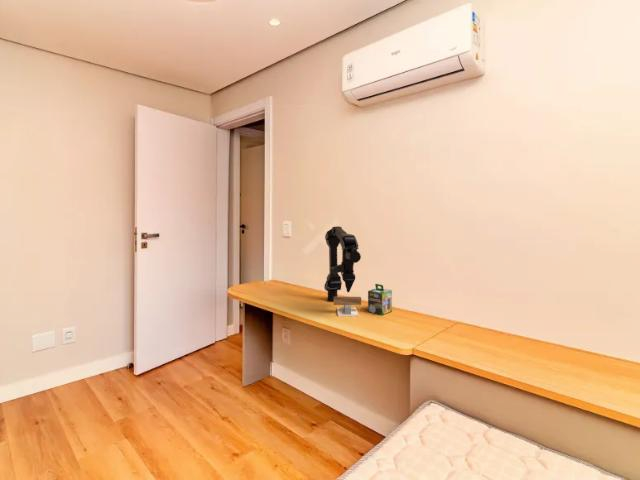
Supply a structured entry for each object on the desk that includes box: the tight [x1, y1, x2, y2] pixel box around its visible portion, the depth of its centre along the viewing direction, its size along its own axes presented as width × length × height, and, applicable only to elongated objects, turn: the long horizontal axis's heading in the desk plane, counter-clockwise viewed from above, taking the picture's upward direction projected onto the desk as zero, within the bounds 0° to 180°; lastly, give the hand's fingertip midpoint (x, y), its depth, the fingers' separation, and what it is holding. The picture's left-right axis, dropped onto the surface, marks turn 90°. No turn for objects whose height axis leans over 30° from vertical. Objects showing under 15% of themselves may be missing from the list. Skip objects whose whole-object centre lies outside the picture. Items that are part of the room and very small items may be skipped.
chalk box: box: [367, 283, 393, 316], centre depth 183 cm, size 9×9×15 cm
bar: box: [333, 296, 362, 306], centre depth 181 cm, size 3×14×4 cm, turn 90°
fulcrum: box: [336, 305, 359, 317], centre depth 181 cm, size 12×10×4 cm
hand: (347, 290), depth 180 cm, fingers open, 9 cm apart
